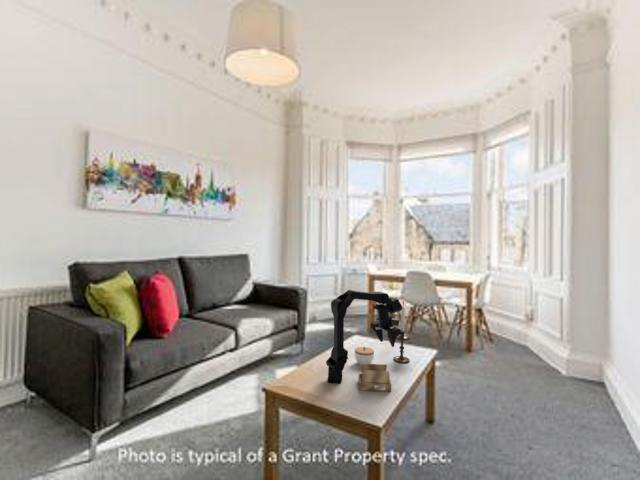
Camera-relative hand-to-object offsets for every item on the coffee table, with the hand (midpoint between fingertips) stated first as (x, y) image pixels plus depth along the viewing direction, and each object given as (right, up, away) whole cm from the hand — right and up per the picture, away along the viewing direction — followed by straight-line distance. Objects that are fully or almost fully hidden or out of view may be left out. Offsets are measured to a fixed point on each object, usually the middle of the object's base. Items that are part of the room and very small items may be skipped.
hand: (387, 344), depth 184 cm
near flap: (-10, -8, -23) cm, 26 cm away
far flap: (-9, -8, -13) cm, 18 cm away
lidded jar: (-11, -14, +10) cm, 21 cm away
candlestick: (+11, -15, +17) cm, 25 cm away
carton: (-10, -15, -18) cm, 25 cm away
